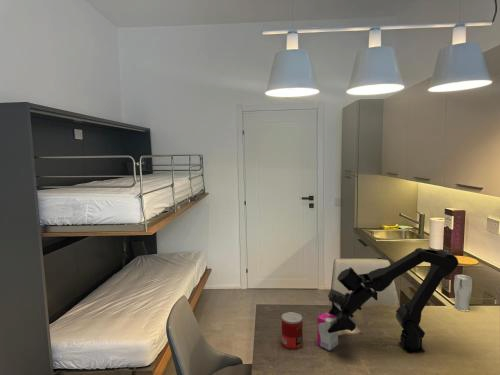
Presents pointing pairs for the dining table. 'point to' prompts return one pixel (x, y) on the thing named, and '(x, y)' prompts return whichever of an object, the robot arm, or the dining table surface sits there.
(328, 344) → the supplement box
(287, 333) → the canned food
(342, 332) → the oak board
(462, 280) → the beer glass
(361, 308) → the robot arm
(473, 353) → the dining table surface
